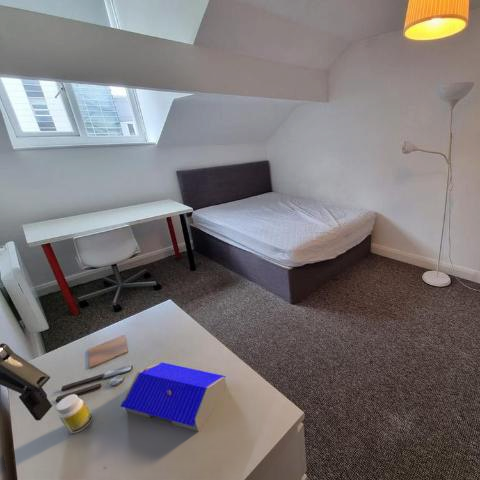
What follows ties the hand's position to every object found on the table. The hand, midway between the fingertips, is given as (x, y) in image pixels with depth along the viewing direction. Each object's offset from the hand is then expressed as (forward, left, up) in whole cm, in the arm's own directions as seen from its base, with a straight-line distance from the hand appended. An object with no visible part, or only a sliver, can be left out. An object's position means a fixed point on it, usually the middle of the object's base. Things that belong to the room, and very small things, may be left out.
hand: (6, 417), depth 50 cm
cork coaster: (-35, +12, -19) cm, 41 cm away
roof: (-1, +26, -20) cm, 32 cm away
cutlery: (-22, +8, -19) cm, 30 cm away
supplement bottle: (-10, +5, -20) cm, 22 cm away
